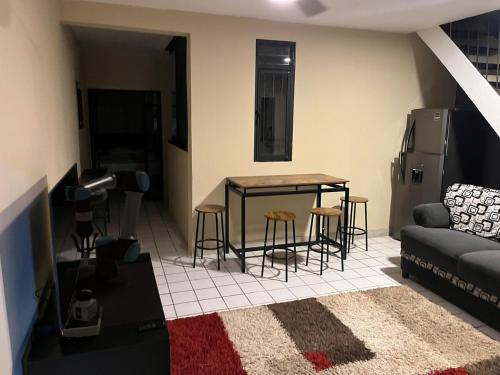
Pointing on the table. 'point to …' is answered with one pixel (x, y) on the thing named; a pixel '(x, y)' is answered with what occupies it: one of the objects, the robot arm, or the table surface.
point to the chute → (83, 328)
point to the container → (84, 306)
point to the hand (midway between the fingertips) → (86, 264)
